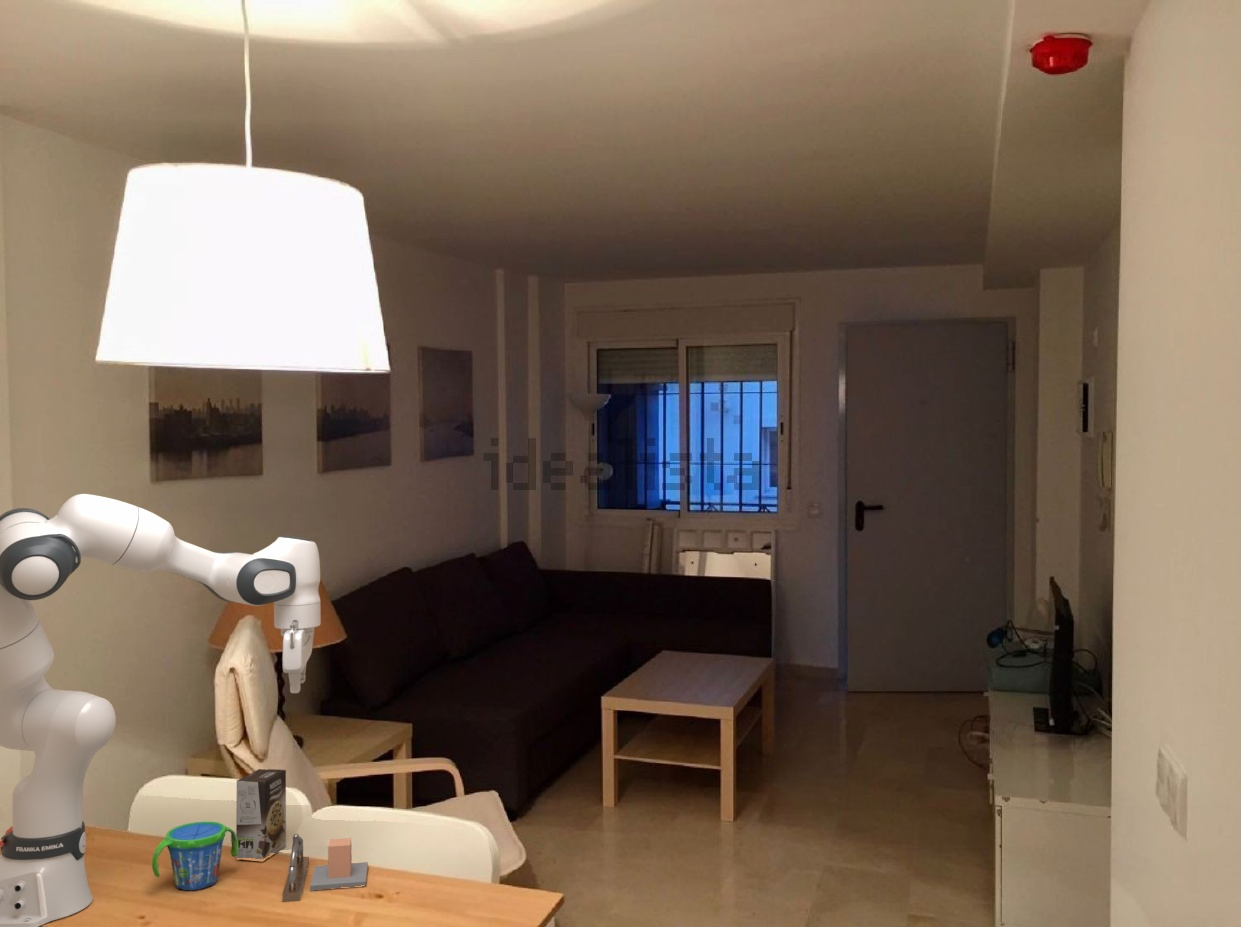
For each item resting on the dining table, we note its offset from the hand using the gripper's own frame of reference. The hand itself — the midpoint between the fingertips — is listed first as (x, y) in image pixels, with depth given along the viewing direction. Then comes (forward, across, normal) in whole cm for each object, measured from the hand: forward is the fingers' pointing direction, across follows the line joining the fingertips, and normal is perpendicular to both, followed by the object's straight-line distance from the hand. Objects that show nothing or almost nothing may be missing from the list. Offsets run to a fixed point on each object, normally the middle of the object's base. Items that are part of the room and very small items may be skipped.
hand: (297, 687), depth 212 cm
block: (+34, -9, -8) cm, 36 cm away
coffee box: (+35, +8, +8) cm, 37 cm away
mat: (+35, -9, -8) cm, 37 cm away
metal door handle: (+35, -9, 0) cm, 36 cm away
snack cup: (+35, -6, +18) cm, 40 cm away
